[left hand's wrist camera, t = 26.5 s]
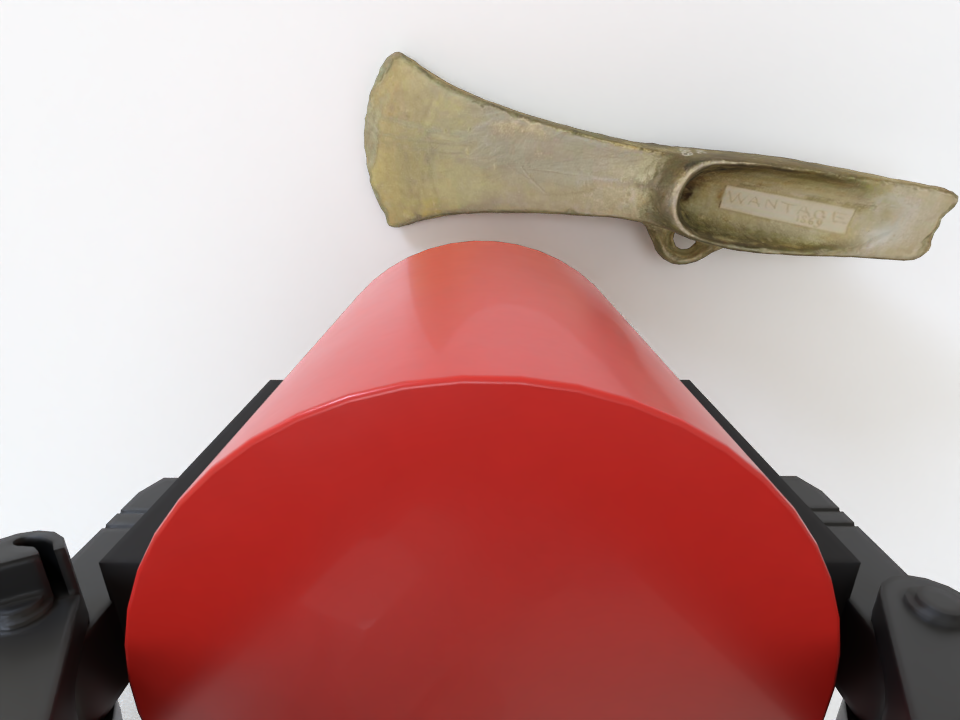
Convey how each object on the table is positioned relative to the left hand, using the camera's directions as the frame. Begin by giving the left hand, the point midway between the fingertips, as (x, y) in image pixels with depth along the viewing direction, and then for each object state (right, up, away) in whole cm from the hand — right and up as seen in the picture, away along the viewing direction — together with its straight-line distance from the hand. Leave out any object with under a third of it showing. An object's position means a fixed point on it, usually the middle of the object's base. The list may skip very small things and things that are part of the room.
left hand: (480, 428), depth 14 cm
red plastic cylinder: (0, +1, +2) cm, 2 cm away
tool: (+6, +10, +9) cm, 15 cm away
